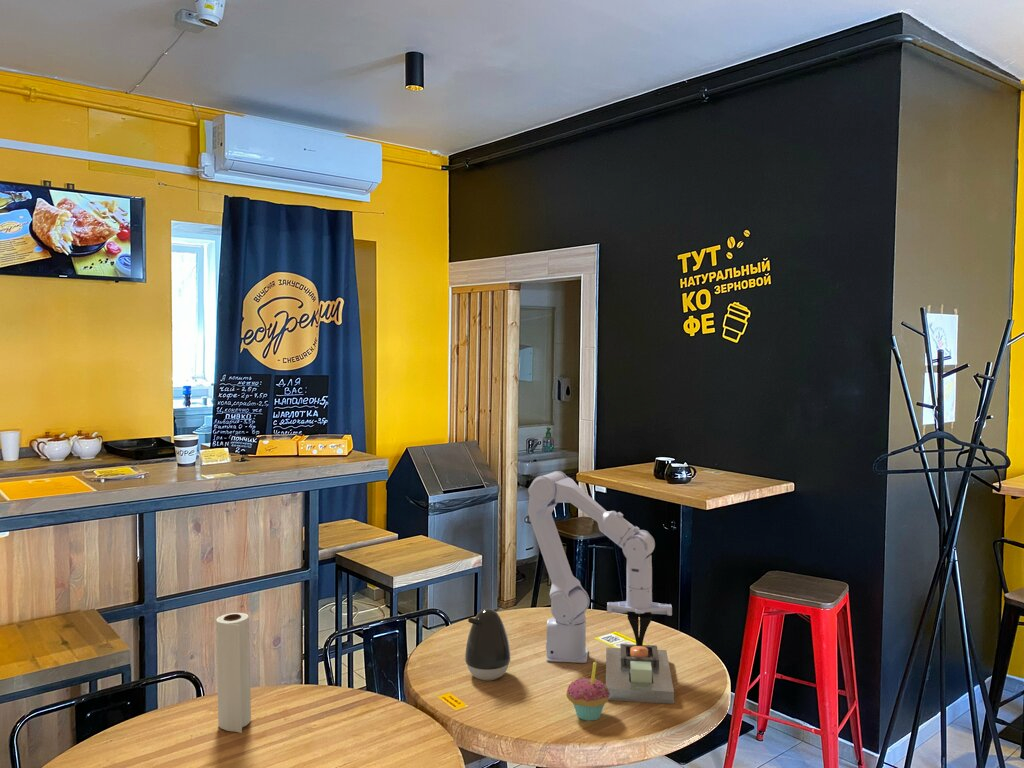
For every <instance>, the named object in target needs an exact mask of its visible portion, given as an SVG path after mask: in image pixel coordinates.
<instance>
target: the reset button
mask: <svg viewBox="0 0 1024 768" xmlns="http://www.w3.org/2000/svg"><path fill="white" fill-rule="evenodd" d="M630 657H648V649H647V648H646V647H643V646H633V647H631V648H630Z"/></svg>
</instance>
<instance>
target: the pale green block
mask: <svg viewBox="0 0 1024 768" xmlns="http://www.w3.org/2000/svg"><path fill="white" fill-rule="evenodd" d="M630 679H631V682H633V683H652V667H651V662H643V661H630Z"/></svg>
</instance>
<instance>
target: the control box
mask: <svg viewBox="0 0 1024 768" xmlns="http://www.w3.org/2000/svg"><path fill="white" fill-rule="evenodd" d="M633 646H636V644H629V643H628V644H627V643H620V647H606V649H605V650H606V651H605V653H606V655H605V657H606V658H605V659H606V660H605V663H606V664H605V685H606V686H607V688H608V690H609V692H610V696H609V698H608V701H612V702H613V701H615V702H635V703H637V702H638V703H650V704H651V703H653V704H669V705H671V704H675V690H674V689H675V688H674V685H673V678H672V674H671V669H670V662H669V658H668V653H667V649H658V645H650V644H643V647H646V648H647V649H648V657H630V648H631V647H633ZM630 661H643V662H651V667H652V683H633V682H631V679H630Z"/></svg>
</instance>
